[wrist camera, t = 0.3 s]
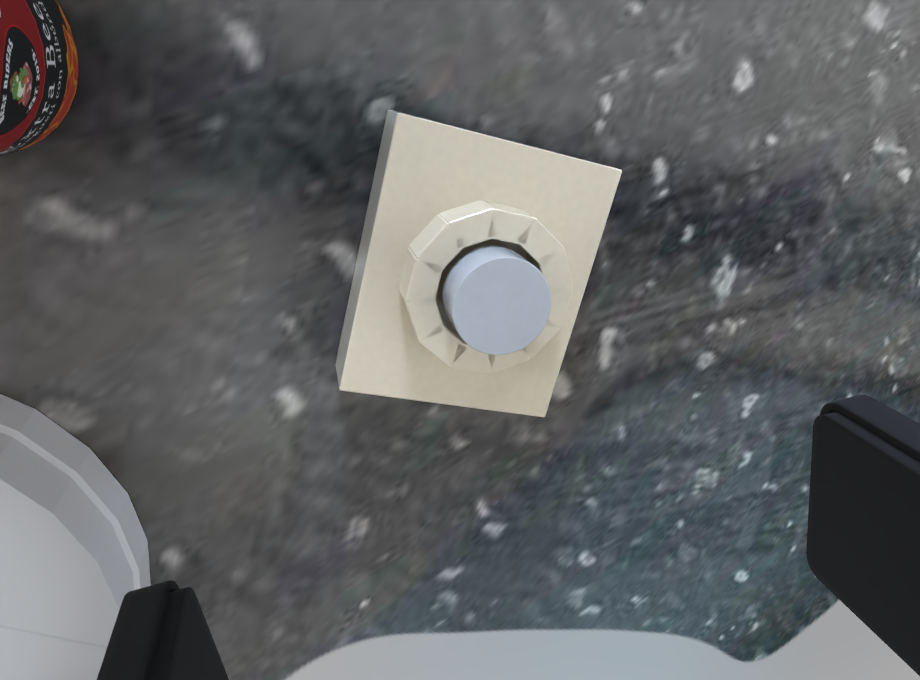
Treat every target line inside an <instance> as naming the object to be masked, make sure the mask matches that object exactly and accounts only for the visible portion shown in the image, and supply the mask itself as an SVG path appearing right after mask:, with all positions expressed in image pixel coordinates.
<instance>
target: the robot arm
mask: <svg viewBox="0 0 920 680" xmlns="http://www.w3.org/2000/svg"><path fill="white" fill-rule="evenodd" d="M806 553H807V560H808V564H809V566H810V568H811V570H812V572H813V573H814V575H815V576H816V577H817V578H818V579H819V580H820V581H821V582H822V583H823V584H824V585H825V586H826V587H827V588H828V589H829V590H830V591H831V592H832V593H833V594H834V595H835V596H836V597H837V598H838V599H839V600H841V601H842V602H843V603H844V604H845V605H846V606H847V607H848V608H849V609H850V610H851V611H852V612H853V613H854V614H855V615H856V616H857V617H858V618H859V619H861V620H862V621H863V622H864V623H865V624H866V625H867V626H868V627H869V628H870V629H871V630H872V631H873V632H874V633H875V634H876V635H877V636H878V637H879V638H881V639H882V640H883V641H884V642H885V643H886V644H887V645H888V646H889V647H890V648H891V649H892V650H893V651H894V652H895V653H896V654H897V655H898V656H899V657H900V658H901V659H902V660H904V661H905V662H906V663H907V664H908V665H909V666H910V667H911V668H912V669H913V670H914V671H915V672H916V673H917V674H918V675H919V676H920V424H919V423H917V422H915V421H913V420H912V419H910V418H908V417H906V416H904V415H903V414H901V413H899V412H897V411H895V410H894V409H892V408H890V407H888V406H886V405H884V404H883V403H881V402H879V401H877V400H875V399H874V398H872V397H869V396H866V395H858V396H854V397H850V398H846V399H843V400H839V401H835V402H831V403H828V404H826V405H825V406H824V407H823V408H822V410H821V412H820V416H818V417H817V418H816V419H815V421H814V425H813V441H812V459H811V478H810V496H809V515H808V533H807V552H806ZM97 680H229V679H228V676H227V674H226V671H225V669H224V666H223V664H222V661H221V658H220V656H219V653H218V651H217V648H216V646H215V643H214V641H213V638H212V635H211V633H210V630H209V628H208V625H207V623H206V620H205V618H204V615H203V612H202V610H201V607H200V605H199V602H198V600H197V597H196V595H195V593H194V591H193V589H192V588H191V587H187V588H183V589H179V587H178V585H177V584H176V583H175V582H174V581H171V580H170V581H166V582H163V583H159V584H155V585H152V586H148V587H144V588H140V589H137V590H133V591H129V592H128V593H126V594H125V596H124V598H123V600H122V604H121V607H120V610H119V613H118V616H117V619H116V622H115V625H114V628H113V631H112V634H111V637H110V640H109V643H108V646H107V650H106V653H105V656H104V659H103V662H102V665H101V668H100V671H99V674H98V677H97Z"/></svg>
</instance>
